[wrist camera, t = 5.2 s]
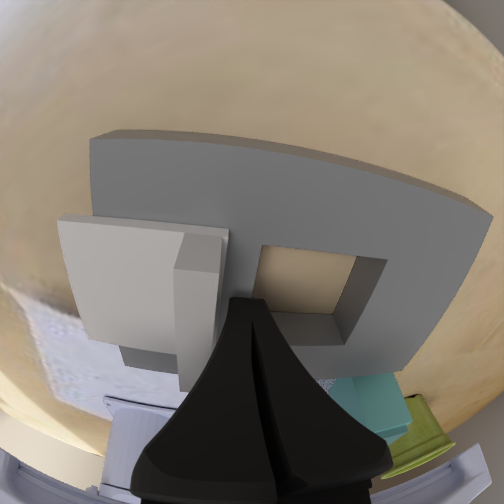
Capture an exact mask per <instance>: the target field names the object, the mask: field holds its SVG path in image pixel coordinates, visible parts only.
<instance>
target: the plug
mask: <svg viewBox="0 0 504 504" xmlns="http://www.w3.org/2000/svg"><path fill="white" fill-rule="evenodd" d="M328 392H329V396H330V397H331V398H332V399H333V400H334V401H335V402H337V403H338V404H339V405H340V406H341V407H342V408H343V409H344V410H345V411H346V412H347V413H348V414H350V415H351V416H352V417H353V418H355V419H356V420H357V421H358V422H360V423H361V424H362V425H363V426H365V427H366V428H368V429H369V430H371V431H372V432H374V433H375V434H377V435H378V436H380V437H381V438H383V439H384V440H386V442H387V444H388V445H390V444H391V443H393V442H394V441H396V440H397V439H398V438H400V437H401V436H403V435H404V434H405V433H407V432H408V429H407V425H409V424H410V423H411V422H412V421H413V420H412V417H411V415H410V412H409V410H408V407H407V405H406V402H405V400H404V397H403V395H402V392H401V390H400V388H399V385H398V383H397V380H396V378H395V376H394V374H393V372H390V373H383V374H375V375H367V376H357V377H347V378H337V380H336V381H335V382H334V384H333V385H332V387H331V388H330V389H329V391H328Z"/></svg>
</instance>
